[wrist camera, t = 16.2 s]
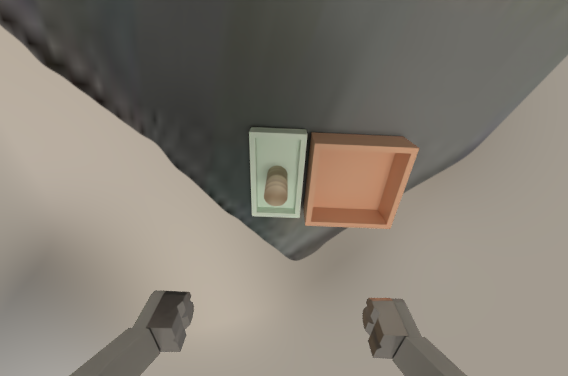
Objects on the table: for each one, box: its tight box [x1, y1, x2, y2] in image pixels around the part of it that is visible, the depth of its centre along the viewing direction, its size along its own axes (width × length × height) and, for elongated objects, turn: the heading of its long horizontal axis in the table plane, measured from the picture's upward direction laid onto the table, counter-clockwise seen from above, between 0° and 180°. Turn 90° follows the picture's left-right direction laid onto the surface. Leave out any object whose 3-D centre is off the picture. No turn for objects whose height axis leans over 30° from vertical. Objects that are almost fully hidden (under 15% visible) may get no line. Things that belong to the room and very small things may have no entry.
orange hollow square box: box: [303, 132, 419, 229], centre depth 44 cm, size 17×17×6 cm
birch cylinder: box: [264, 166, 288, 206], centre depth 42 cm, size 4×4×8 cm
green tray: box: [249, 127, 307, 218], centre depth 45 cm, size 18×10×3 cm, turn 178°
